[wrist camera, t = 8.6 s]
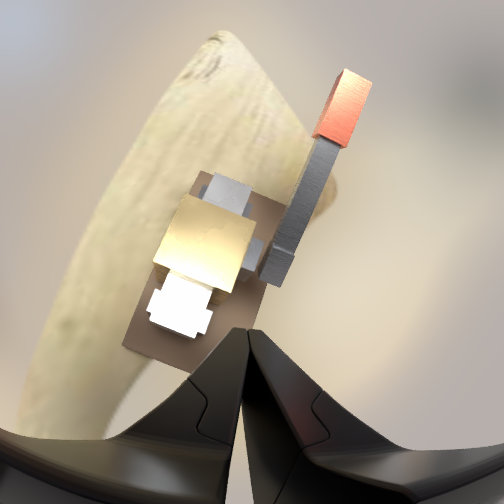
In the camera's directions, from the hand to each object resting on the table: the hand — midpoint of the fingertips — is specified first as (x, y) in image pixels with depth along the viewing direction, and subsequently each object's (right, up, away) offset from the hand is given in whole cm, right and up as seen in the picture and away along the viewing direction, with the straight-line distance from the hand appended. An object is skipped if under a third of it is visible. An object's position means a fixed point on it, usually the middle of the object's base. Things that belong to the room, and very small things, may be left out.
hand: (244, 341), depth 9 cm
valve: (-3, +2, +12) cm, 13 cm away
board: (-3, +1, +13) cm, 14 cm away
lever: (+1, +2, +8) cm, 8 cm away
